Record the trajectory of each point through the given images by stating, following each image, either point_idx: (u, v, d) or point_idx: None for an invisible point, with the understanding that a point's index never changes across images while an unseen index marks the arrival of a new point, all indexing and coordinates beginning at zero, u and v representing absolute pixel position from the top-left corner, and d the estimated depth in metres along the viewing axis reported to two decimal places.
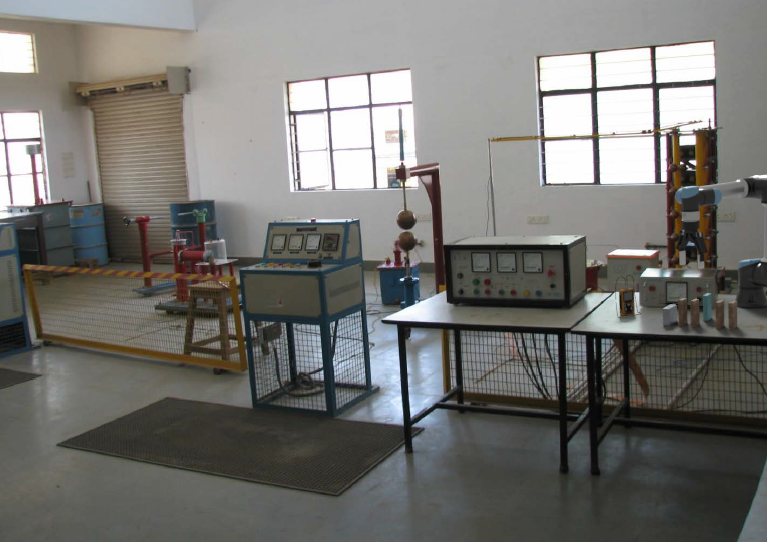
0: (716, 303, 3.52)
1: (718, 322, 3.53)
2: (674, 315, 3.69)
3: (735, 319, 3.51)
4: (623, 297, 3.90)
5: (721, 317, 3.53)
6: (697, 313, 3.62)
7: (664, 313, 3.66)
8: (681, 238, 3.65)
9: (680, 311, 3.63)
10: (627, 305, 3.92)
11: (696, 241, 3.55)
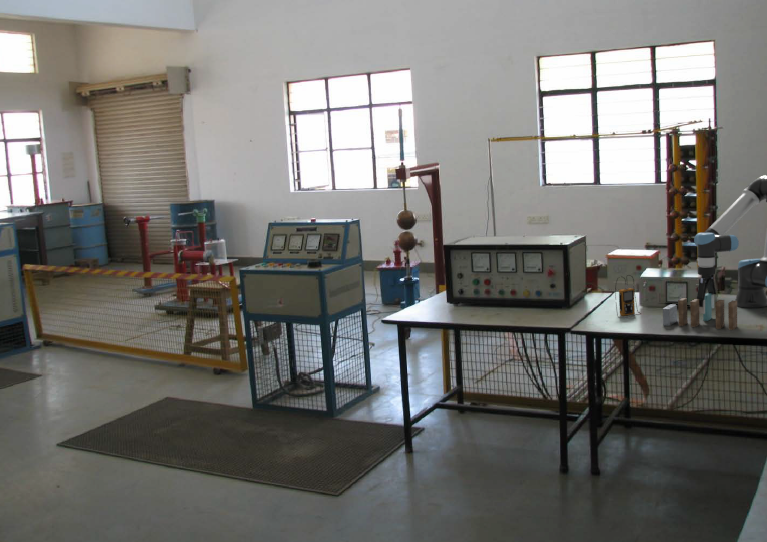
0: (716, 303, 3.52)
1: (718, 322, 3.53)
2: (674, 315, 3.69)
3: (735, 319, 3.51)
4: (623, 297, 3.90)
5: (721, 316, 3.53)
6: (697, 313, 3.62)
7: (664, 313, 3.66)
8: None
9: (680, 311, 3.63)
10: (627, 305, 3.92)
11: None
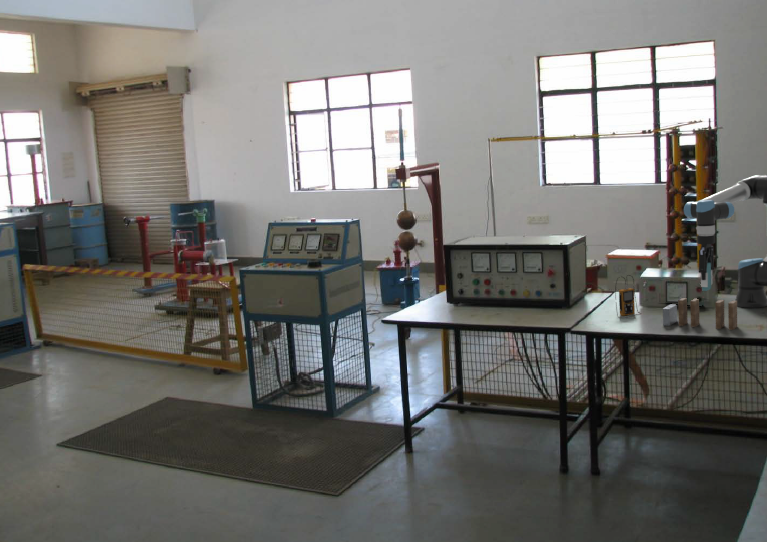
0: (716, 303, 3.52)
1: (718, 322, 3.53)
2: (674, 315, 3.69)
3: (735, 319, 3.51)
4: (623, 297, 3.90)
5: (721, 317, 3.53)
6: (697, 313, 3.62)
7: (664, 313, 3.66)
8: None
9: (680, 311, 3.63)
10: (627, 305, 3.92)
11: None
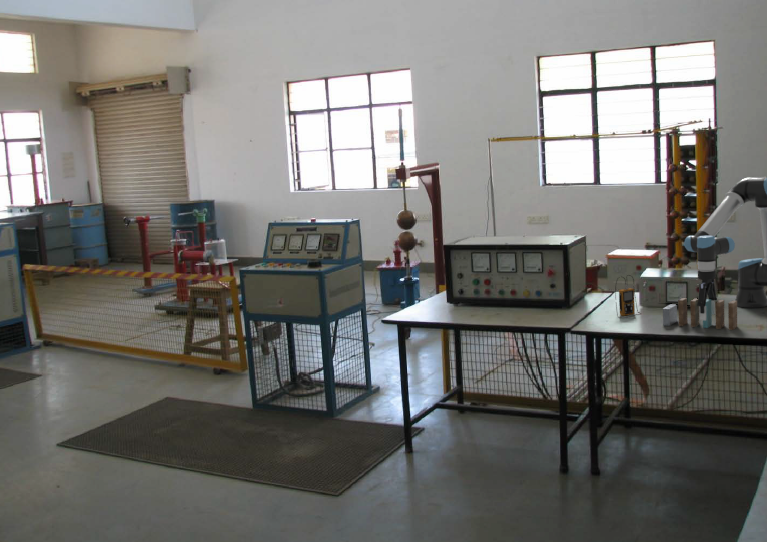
0: (716, 303, 3.52)
1: (718, 322, 3.53)
2: (674, 315, 3.69)
3: (735, 319, 3.51)
4: (623, 297, 3.90)
5: (721, 317, 3.53)
6: (697, 313, 3.62)
7: (664, 313, 3.66)
8: None
9: (680, 311, 3.63)
10: (627, 305, 3.92)
11: None
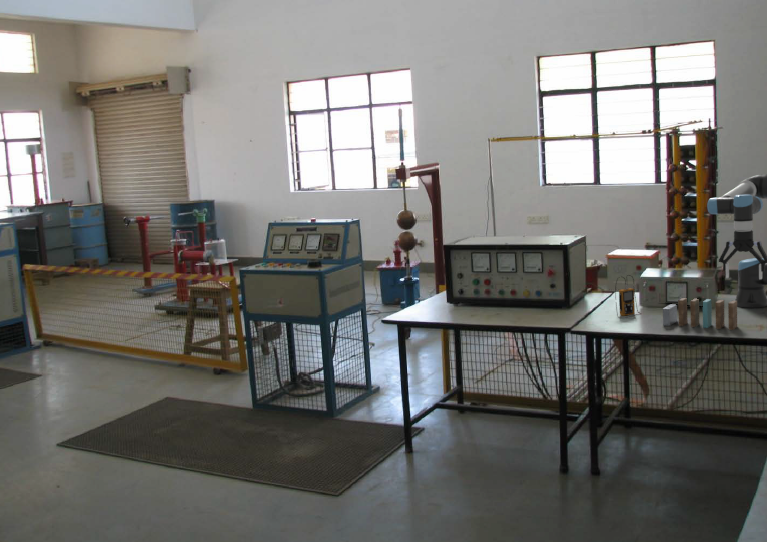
0: (716, 303, 3.52)
1: (718, 322, 3.53)
2: (674, 315, 3.69)
3: (735, 319, 3.51)
4: (623, 297, 3.90)
5: (721, 317, 3.53)
6: (697, 313, 3.62)
7: (664, 313, 3.66)
8: None
9: (680, 311, 3.63)
10: (627, 305, 3.92)
11: (733, 250, 3.47)
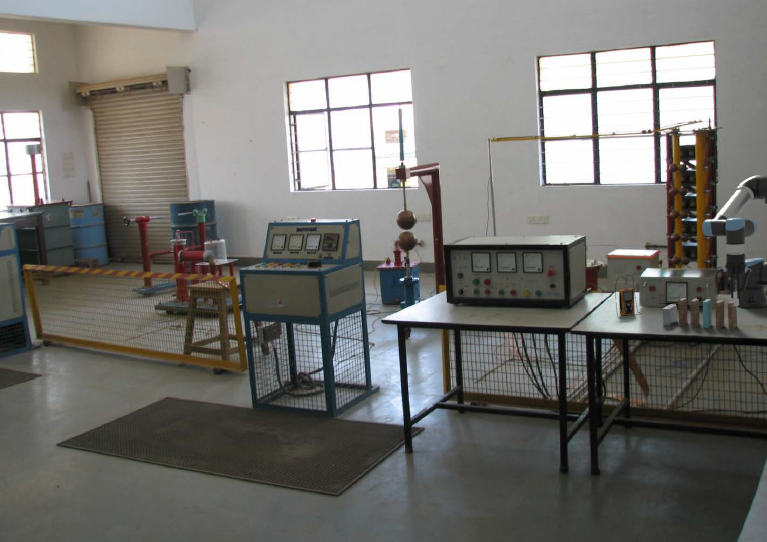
0: (716, 303, 3.52)
1: (718, 322, 3.53)
2: (674, 315, 3.69)
3: (735, 319, 3.51)
4: (623, 297, 3.90)
5: (721, 316, 3.53)
6: (697, 313, 3.62)
7: (664, 313, 3.66)
8: None
9: (680, 311, 3.63)
10: (627, 305, 3.92)
11: None
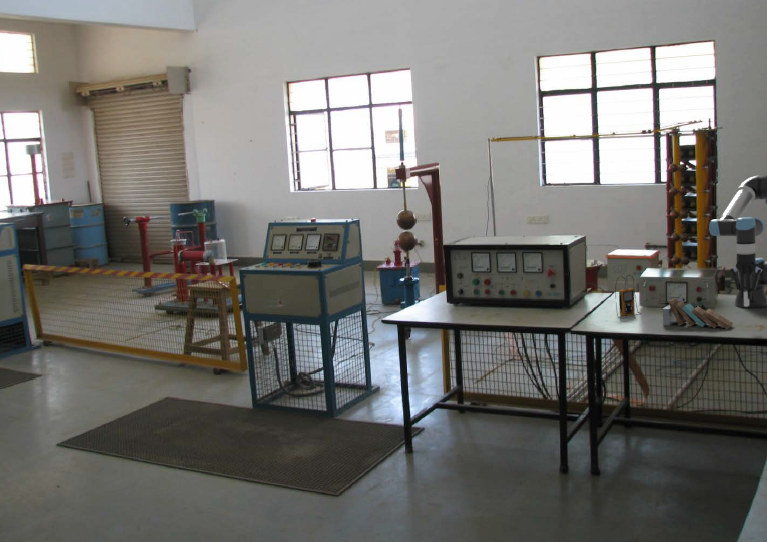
0: (692, 311, 3.60)
1: (709, 322, 3.55)
2: None
3: (723, 319, 3.55)
4: (623, 297, 3.90)
5: None
6: None
7: (664, 313, 3.66)
8: None
9: (674, 311, 3.65)
10: (627, 305, 3.92)
11: None
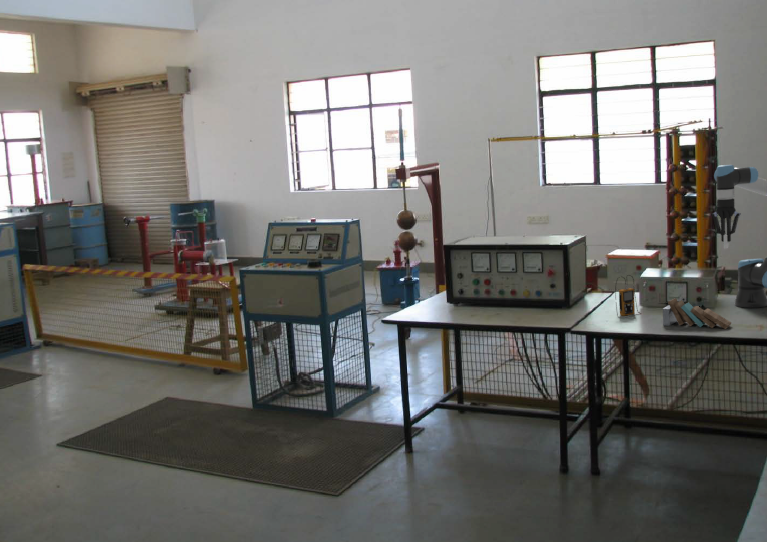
0: (691, 310, 3.60)
1: (708, 322, 3.56)
2: (674, 315, 3.69)
3: (721, 319, 3.55)
4: (623, 297, 3.90)
5: None
6: None
7: (664, 313, 3.66)
8: None
9: (674, 310, 3.65)
10: (627, 305, 3.92)
11: None
